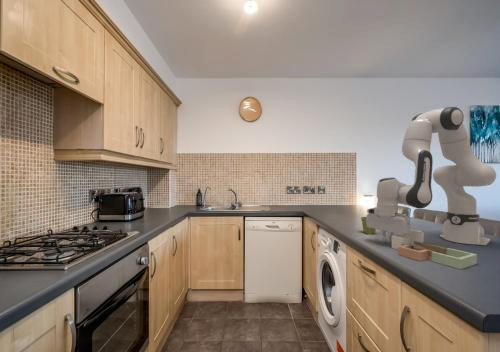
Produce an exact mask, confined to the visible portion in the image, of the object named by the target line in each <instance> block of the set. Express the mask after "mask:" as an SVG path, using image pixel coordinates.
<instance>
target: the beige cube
mask: <svg viewBox="0 0 500 352" xmlns="http://www.w3.org/2000/svg"><path fill="white" fill-rule="evenodd" d="M410 229H411V228H410ZM407 237H410V238H409V245H410V247H411V246H412V247H414V241H417V242H421V243H424V239H425V238H424V237H425V230H421V229H415V228H412V229H411V233H410V234H409V235H407Z"/></svg>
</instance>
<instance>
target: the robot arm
mask: <svg viewBox="0 0 500 352" xmlns="http://www.w3.org/2000/svg"><path fill="white" fill-rule="evenodd" d="M463 122H464V113H463V111H462V110H461V109H460V108H459V107H457V106H447V107H443V108H435V109H432V110H429V111H426V112H422V113H419V114H417V115H414V116H413V118H412V119H411V121H410V122H409V124H408V126H407V129H406V131H405V134H404V137H403V141H402V145H401V152H402V155H403V157H405V158H406V159H407V160H409V161H411V162H413V163H414V166H415V170H414V182H413V183H412V184H410V185H409V184H406V183H403V182H401V181H399V180H398V178H396V177H385V178H381V179H379V180H378V182H377V185H376V186H377V187H376V198H377V202H376V206H375V207H372V208H367V211H366V212H367V214H366V216H365V217H366V225H367V227H369V228H374V229H376V230H379V231H380V234H381V236H382V240H383V241H387V242H392V236H393V235H394V234H396V235H402V236H408V235H409V234H410V233H411V218H410V216H409V215H407V213H402V212H401V213H400V212H399V209H398V208H399V205H404V206H409V207H412V208H415V209H425V208H427V207H428V206H429V205H430V204H431V202H432V201H433V191H432V178H433V181H434V182H435V183H436V184H437V185H438V186H440V188H441V189H442V190H443V191H444V193H445V195H446V199H447V200H446V201H447V212H446V221H444V222H443V226H442V227H443V228H442V234H439V238H443V239H444V240H446V241H450V242H453V243H459V244H465V245H466V244H467V245H479V246H487V245H489V243H490V242H491V238H487V237H485V229H484V228H483V226H482V225H481V224H480V222H479V219H480V218H481V217H480V214H477V199H476V198H475V197H474V196H473V195H472V194H470V193H468V192H466V190H465V188H464V187H475V188H477V187H478V188H479V187H487V186H491V185H492V184H494V182H495V181H496V180H497V172H496V170H495V169H494V167H492V166H491V165H488V164H486V163H484V162H482V161H481V160H480V159H479V158H478V157H477V156H476V155H475V153H474V151H473V150H472V147H471V144H470V140H469V137H468V132H467V130H466V127H465V125H464V123H463ZM436 133H437V136H438V142H439V146H440V150H441V155H442V157H444V158H445V159H446V160H448V161H451V162H452V163H454V165H452V164H451V165H450V164H449V165H448V164H447V165H442V166H439V167H436V168H435V169H434V170H433V154H432V153H431V143H432V140H433V139H432V137H433V134H436ZM386 232H387V234H388V236H387V234H386Z"/></svg>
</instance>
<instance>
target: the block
mask: <svg viewBox="0 0 500 352" xmlns="http://www.w3.org/2000/svg"><path fill="white" fill-rule="evenodd" d="M409 238H410V237H408V235H402V234H395V235H394V234H393V235H392V237H391V248H392V249H396V250H398V246H401V244H407V245H409Z"/></svg>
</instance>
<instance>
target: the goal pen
mask: <svg viewBox="0 0 500 352" xmlns="http://www.w3.org/2000/svg"><path fill="white" fill-rule="evenodd" d="M445 248H446V255H445V254H441V253H437V252H432V260H430V261H431V262H434V263H438V264H440V265H444V266H448V267H452V268H454V269H458V270H463V269H466V268H469V267H471V266H475V265H477V264H478V254H477V253H472V252H468V251H464V250H460V249H459V250H458V249H456V248H449V247H445Z"/></svg>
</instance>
